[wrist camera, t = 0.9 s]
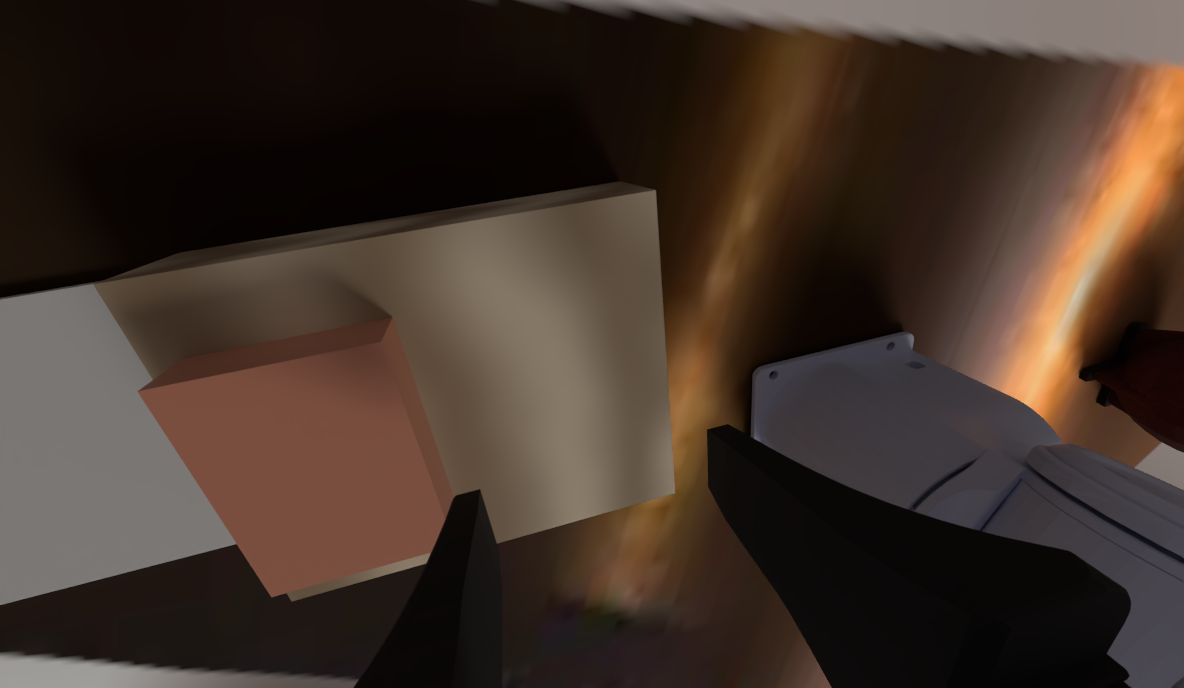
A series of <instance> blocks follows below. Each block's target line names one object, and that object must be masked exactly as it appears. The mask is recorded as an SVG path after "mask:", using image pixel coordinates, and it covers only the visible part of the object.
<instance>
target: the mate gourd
mask: <svg viewBox="0 0 1184 688" xmlns="http://www.w3.org/2000/svg"><path fill="white" fill-rule="evenodd" d="M1146 325H1147V323H1141V322H1133V323H1130V324H1129V325H1128V328H1127V330H1126V332H1125V334H1124V337H1123V339H1122V341H1121V344H1120V346H1119V349H1118V351H1117V353H1116V355H1115V358H1114V359H1113V360H1111V361H1108V362H1104V363H1101V364H1097V365H1093V366H1090V367H1087V368H1084V369H1083V370H1082V371H1081V373H1080V376H1079V378H1080V379H1082V380H1084V381H1092V380H1096V381H1098V382H1100V383H1102V384H1104V385H1103V387H1102V389H1101V392H1100V394H1099V397H1098V399H1097V403H1099V404H1101V405H1102V406H1104V407H1106V406H1110V405H1111V404H1112V405H1113V406H1115V407H1117V408H1118V409H1120V410H1122V411H1123V412H1125V413H1126V414H1128V415H1129V416H1130V417H1131V418H1132V420H1133V421H1135V422H1136V423H1137V424H1138V425H1139V426H1140V427H1141V428H1143V429H1144V430H1145V431H1146V432H1148V433H1149V434H1151V435H1152V436H1153V437H1155V438H1156V439H1158V440H1159V441H1161V442H1163V443H1165V444H1167V445H1169V446H1171V447H1172V448H1174V449H1176V450H1179V451H1181V452H1184V332H1181V331H1168V330H1155V329H1146Z"/></svg>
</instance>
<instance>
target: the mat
mask: <svg viewBox="0 0 1184 688" xmlns="http://www.w3.org/2000/svg"><path fill="white" fill-rule="evenodd" d="M98 282H101V281H98ZM98 282H92V283H86V284H80V285H74V286H68V287H62V288H56V289H50V290H44V291H38V292H32V293H26V294H20V295H14V296H8V297H2V298H0V605H2V604H6V603H10V602H14V601H17V600H21V599H25V598H29V597H33V596H37V595H41V594H44V593H48V592H52V591H56V590H60V589H64V588H68V587H72V586H75V585H79V584H83V583H87V582H91V581H95V580H99V579H102V578H106V577H110V576H114V575H118V574H122V573H126V572H129V571H133V570H137V569H141V568H145V567H149V566H153V565H157V564H160V563H164V562H168V561H172V560H176V559H180V558H184V557H187V556H191V555H195V554H199V553H203V552H207V551H211V550H215V549H218V548H222V547H226V546H230V545H234V544H237V543H236V542H235V540H234V539H233V537H232V536H231V534H230V533H229V531H228V530H227V528H226V527H225V525H224V524H223V522H222V520H221V519H220V517H219V516H218V514H217V513H216V511H215V510H214V508H213V507H212V505H211V504H210V502H209V501H208V499H207V497H206V496H205V494H204V493H203V491H202V490H201V488H200V487H199V485H198V484H197V482H196V481H195V479H194V478H193V476H192V474H191V473H190V471H189V470H188V468H187V467H186V465H185V464H184V462H183V461H182V459H181V458H180V456H179V455H178V453H177V451H176V450H175V448H174V447H173V445H172V444H171V442H170V441H169V439H168V438H167V436H166V435H165V433H164V432H163V430H162V428H161V427H160V425H159V424H158V422H157V421H156V419H155V418H154V416H153V415H152V413H151V412H150V410H149V409H148V407H147V405H146V404H145V402H144V401H143V399H142V398H141V396H140V395H139V393H138V392H137V391H139V390H140V389H141V388H143V387H144V386H145V385H147V384H148V383H149V382H151V381H152V380H153V379H152V378H151V376H150V374H149V373H148V371H147V370H146V368H145V366H144V365H143V363H142V362H141V360H140V358H139V357H138V355H137V354H136V352H135V350H134V349H133V347H132V346H131V344H130V343H129V341H128V339H127V338H126V336H125V335H124V333H123V331H122V330H121V328H120V327H119V325H118V323H117V322H116V320H115V319H114V317H113V315H112V314H111V312H110V311H109V309H108V307H107V306H106V304H105V303H104V301H103V299H102V298H101V296H100V295H99V293H98V291H97V290H96V288H95V287H94V285H93V284H95V283H98Z"/></svg>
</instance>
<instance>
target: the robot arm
mask: <svg viewBox="0 0 1184 688" xmlns="http://www.w3.org/2000/svg"><path fill="white" fill-rule="evenodd" d="M913 342H914V337H913V335H912V334H910V333H908V332H899V333H895V334H891V335H887V336H883V337H879V338H875V339H870V340H866V341H862V342H858V343H854V344H850V345H846V346H842V347H837V348H833V349H829V350H825V351H821V352H817V353H813V354H809V355H804V356H800V357H796V358H792V359H788V360H784V361H780V362H776V363H771V364H767V365H763V366H760V367H758V368H757V369H756V370H755V371H754V373H753V376H752V409H751V437H750V436H748V435H747V434H745V433H743V432H741V431H739V430H738V429H736V428H734V427H732V426H730V425H728V424H727V425H723V426H719V427H715V428H711V429H708V430H707V445H708V487H709V489H710V491H711V493H712V495H713V497H714V499H715V501H716V503H717V505H718V506H719V508H720V510H721V512H722V514H723V515H724V517H725V519H726V521H727V522H728V524H729V525H730V527H731V528H732V530H733V531H734V532H735V534H736V535H737V537H738V538H739V540H740V541H741V542H742V544H743V545H744V547H745V548H746V550H747V551H748V552H749V554H750V555H751V557H752V558H753V560H754V561H755V562H756V564H757V565H758V567H759V568H760V569H761V571H762V572H763V574H764V575H765V577H766V578H767V579H768V581H769V582H770V584H771V585H772V586H773V588H774V589H775V591H776V592H777V594H778V595H779V597H780V598H781V600H782V601H783V603H784V604H785V606H786V608H787V609H788V611H789V612H790V614H791V616H792V618H793V619H794V621H795V623H796V625H797V626H798V628H799V630H800V631H801V633H802V635H803V637H804V638H805V640H806V642H807V644H808V645H809V647H810V649H811V651H812V653H813V654H814V656H815V658H816V660H817V662H818V663H819V665H820V667H821V669H822V671H823V673H824V674H825V676H826V678H827V680H828V682H829V683H830V685H831V687H832V688H1184V490H1182V489H1179V488H1177V487H1175V486H1173V485H1171V484H1168V483H1166V482H1164V481H1162V480H1160V479H1158V478H1155V477H1153V476H1151V475H1149V474H1147V473H1144V472H1142V471H1139V470H1137V469H1135V468H1133V467H1131V466H1128V465H1126V464H1124V463H1121V462H1119V461H1116V460H1114V459H1112V458H1109V457H1107V456H1104V455H1102V454H1099V453H1096V452H1094V451H1091V450H1089V449H1086V448H1083V447H1080V446H1077V445H1073V444H1063V443H1062V441H1061V440H1060V438H1059V437H1058V436H1057V434H1056V433H1055V431H1054V430H1053V429H1052V428H1051V427H1050V426H1049V424H1048V423H1047V422H1046V421H1045V420H1044V419H1043V418H1042V417H1041V416H1040V415H1038V414H1037V413H1036V412H1035V411H1034V410H1032V409H1031V408H1030V407H1028V406H1027V405H1025V404H1024V403H1022V402H1020V401H1019V400H1017V399H1015V398H1013V397H1011V396H1009V395H1007V394H1005V393H1002V392H1000V391H998V390H996V389H994V388H992V387H990V386H987V385H985V384H983V383H981V382H979V381H977V380H975V379H972V378H970V377H968V376H966V375H964V374H962V373H960V372H957V371H955V370H953V369H951V368H949V367H947V366H945V365H943V364H940V363H938V362H936V361H934V360H932V359H930V358H928V357H925V356H923V355H921V354H919V353H917V352H915V351H913V350H912V347H913ZM772 371H774V372H773V374H772V375H771V376H769V375H770V373H771V372H772ZM354 688H502V581H501V571H500V562H499V553H498V546H497V543H496V539H495V536H494V533H493V529H492V526H491V523H490V520H489V516H488V513H487V510H486V507H485V503H484V500H483V497H482V493H481V490H480V489H478V490H475V491H471V492H467V493H463V494H459V495H456V496H455V497H454V499H453V500H452V503H451V505H450V508H449V511H448V514H447V516H446V519H445V521H444V524H443V526H442V529H441V531H440V534H439V536H438V538H437V541H436V543H435V545H434V547H433V550H432V552H431V554H430V556H429V558H428V561H427V563H426V565H425V567H424V569H423V571H422V573H421V575H420V577H419V579H418V581H417V583H416V585H415V587H414V589H413V591H412V593H411V595H410V596H409V598H408V600H407V602H406V604H405V606H404V608H403V610H402V612H401V613H400V615H399V617H398V619H397V620H396V622H395V624H394V626H393V627H392V629H391V631H390V632H389V634H388V636H387V637H386V639H385V640H384V642H383V644H382V645H381V647H380V649H379V650H378V652H377V653H376V655H375V657H374V658H373V660H372V661H371V663H370V664H369V666H368V667H367V669H366V670H365V672H364V673H363V674H362V676H361V677H360V679H359V680H358V682H357V683H356V685H355V686H354Z"/></svg>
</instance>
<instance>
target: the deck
mask: <svg viewBox="0 0 1184 688" xmlns="http://www.w3.org/2000/svg"><path fill="white" fill-rule="evenodd" d="M93 285H94V287H95V288H96V290H97V291H98V293H99V295H100V296H101V298H102V299H103V301H104V303H105V304H106V306H107V307H108V309H109V311H110V312H111V314H112V315H113V317H114V319H115V320H116V322H117V323H118V325H119V327H120V328H121V330H122V331H123V333H124V335H125V336H126V338H127V339H128V341H129V343H130V344H131V346H132V347H133V349H134V350H135V352H136V354H137V355H138V357H139V358H140V360H141V362H142V363H143V365H144V366H145V368H146V370H147V371H148V373H149V374H150V376H151V378H152V379H153V380H154V379H155V378H156V377H158V376H159V375H160V374H162V373H163V372H165V371H166V370H167V369H169V368H170V367H171V366H173V365H174V364H175V363H177V362H178V361H180V360H181V359H182V358H188V357H193V356H198V355H203V354H208V353H213V352H218V351H223V350H228V349H234V348H239V347H244V346H249V345H254V344H259V343H264V342H269V341H274V340H280V339H285V338H290V337H295V336H300V335H305V334H310V333H315V332H320V331H326V330H331V329H336V328H341V327H346V326H351V325H356V324H361V323H366V322H372V321H377V320H382V319H387V318H392V317H393V320H394V323H395V326H396V329H397V331H398V334H399V337H400V340H401V343H402V346H403V349H404V352H405V355H406V358H407V361H408V364H409V367H410V370H411V372H412V375H413V378H414V381H415V384H416V387H417V390H418V393H419V396H420V399H421V402H422V405H423V408H424V411H425V413H426V416H427V419H428V422H429V425H430V428H431V431H432V434H433V437H434V440H435V443H436V446H437V449H438V452H439V454H440V457H441V460H442V463H443V466H444V469H445V472H446V475H447V478H448V481H449V484H450V487H451V490H452V493H453V495H454V497H455V496H456V495H459V494H463V493H467V492H471V491H475V490H478V489H480V490H481V493H482V497H483V500H484V503H485V507H486V510H487V513H488V516H489V520H490V523H491V526H492V529H493V533H494V536H495V539H496V543H500V542H504V541H507V540H511V539H514V538H518V537H521V536H525V535H528V534H532V533H535V532H539V531H543V530H546V529H550V528H553V527H557V526H560V525H564V524H567V523H571V522H574V521H578V520H582V519H585V518H589V517H592V516H596V515H599V514H603V513H606V512H610V511H613V510H617V509H621V508H624V507H628V506H631V505H635V504H638V503H642V502H645V501H649V500H652V499H656V498H659V497H663V496H667V495H670V494H674V493H675V484H674V468H673V453H672V437H671V421H670V405H669V390H668V374H667V358H666V343H665V327H664V311H663V295H662V280H661V264H660V248H659V233H658V217H657V201H656V190H653V189H649V188H645V187H641V186H637V185H633V184H629V183H625V182H621V181H619V182H613V183H607V184H601V185H594V186H588V187H582V188H576V189H570V190H564V191H557V192H551V193H545V194H539V195H533V196H527V197H520V198H514V199H508V200H502V201H496V202H489V203H483V204H477V205H471V206H465V207H459V208H452V209H446V210H440V211H434V212H428V213H422V214H415V215H409V216H403V217H397V218H391V219H385V220H378V221H372V222H366V223H360V224H354V225H347V226H341V227H335V228H329V229H323V230H317V231H310V232H304V233H298V234H292V235H286V236H280V237H273V238H267V239H261V240H255V241H249V242H243V243H236V244H230V245H224V246H218V247H212V248H205V249H199V250H193V251H187V252H181V253H177V254H175V255H172V256H169V257H166V258H164V259H161V260H158V261H155V262H153V263H150V264H147V265H144V266H142V267H139V268H136V269H134V270H131V271H128V272H125V273H123V274H120V275H117V276H114V277H112V278H109V279H106V280H103V281H101V282H98V283H95V284H93ZM430 554H431V553H428V554H424V555H421V556H417V557H413V558H410V559H406V560H403V561H399V562H395V563H392V564H388V565H385V566H381V567H378V568H374V569H370V570H367V571H363V572H360V573H356V574H352V575H349V576H345V577H342V578H338V579H335V580H331V581H327V582H324V583H320V584H317V585H313V586H309V587H306V588H302V589H299V590H295V591H292V592H288V593H287V595H288V596H289V598H290V599H291V601H295V600H298V599H302V598H305V597H309V596H312V595H316V594H319V593H323V592H326V591H330V590H334V589H337V588H341V587H344V586H348V585H351V584H355V583H358V582H362V581H365V580H369V579H373V578H376V577H380V576H383V575H387V574H390V573H394V572H397V571H401V570H404V569H408V568H412V567H415V566H419V565H422V564H426V563H427V561H428V558H429V556H430Z"/></svg>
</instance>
